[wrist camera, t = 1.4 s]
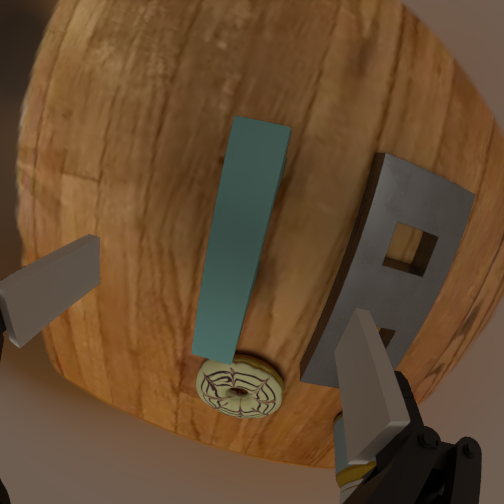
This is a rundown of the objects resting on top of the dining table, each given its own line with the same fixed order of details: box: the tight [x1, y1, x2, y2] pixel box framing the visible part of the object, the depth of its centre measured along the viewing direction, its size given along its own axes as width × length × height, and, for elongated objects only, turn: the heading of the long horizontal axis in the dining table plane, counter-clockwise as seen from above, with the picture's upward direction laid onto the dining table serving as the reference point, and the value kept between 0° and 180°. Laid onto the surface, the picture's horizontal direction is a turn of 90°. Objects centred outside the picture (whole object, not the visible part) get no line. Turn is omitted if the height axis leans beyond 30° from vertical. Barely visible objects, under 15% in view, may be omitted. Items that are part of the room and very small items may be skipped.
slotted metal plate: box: [300, 153, 475, 388], centre depth 24 cm, size 24×10×3 cm, turn 167°
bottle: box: [334, 412, 377, 504], centre depth 26 cm, size 7×7×15 cm
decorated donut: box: [196, 354, 284, 418], centre depth 31 cm, size 10×11×4 cm
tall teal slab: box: [192, 116, 291, 365], centre depth 21 cm, size 16×3×10 cm, turn 167°
